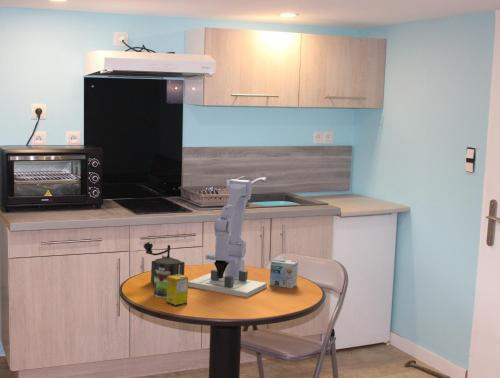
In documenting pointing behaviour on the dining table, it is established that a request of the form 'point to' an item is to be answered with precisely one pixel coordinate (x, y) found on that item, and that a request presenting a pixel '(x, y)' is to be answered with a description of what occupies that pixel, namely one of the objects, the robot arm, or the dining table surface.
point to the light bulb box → (283, 273)
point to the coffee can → (164, 275)
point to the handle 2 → (243, 275)
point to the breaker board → (238, 287)
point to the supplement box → (177, 290)
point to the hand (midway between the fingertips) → (220, 277)
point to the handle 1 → (228, 281)
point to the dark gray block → (214, 275)
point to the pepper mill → (148, 248)
